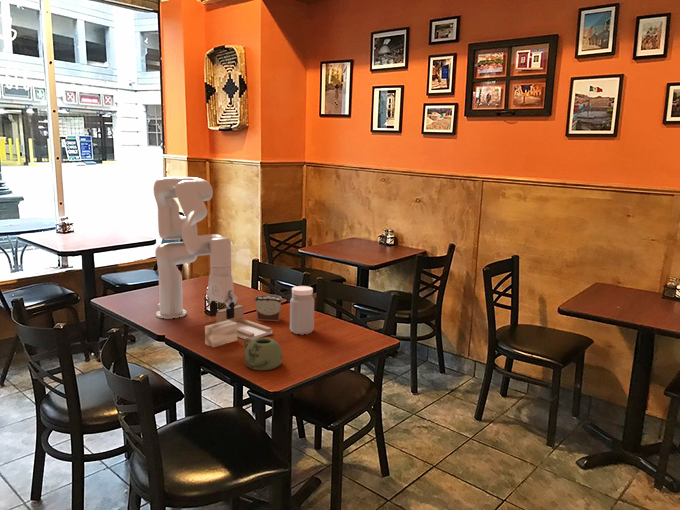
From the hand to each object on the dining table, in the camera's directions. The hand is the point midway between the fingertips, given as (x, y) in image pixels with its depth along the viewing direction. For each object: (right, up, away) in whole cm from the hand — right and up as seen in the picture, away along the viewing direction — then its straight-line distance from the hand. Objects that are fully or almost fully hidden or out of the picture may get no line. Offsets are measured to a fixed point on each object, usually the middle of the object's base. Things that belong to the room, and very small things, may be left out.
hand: (222, 315), depth 200 cm
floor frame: (+6, -8, +15) cm, 18 cm away
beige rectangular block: (-1, -10, +2) cm, 11 cm away
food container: (+13, -5, +33) cm, 36 cm away
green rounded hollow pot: (+17, -15, -17) cm, 28 cm away
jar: (+28, -8, +17) cm, 34 cm away
